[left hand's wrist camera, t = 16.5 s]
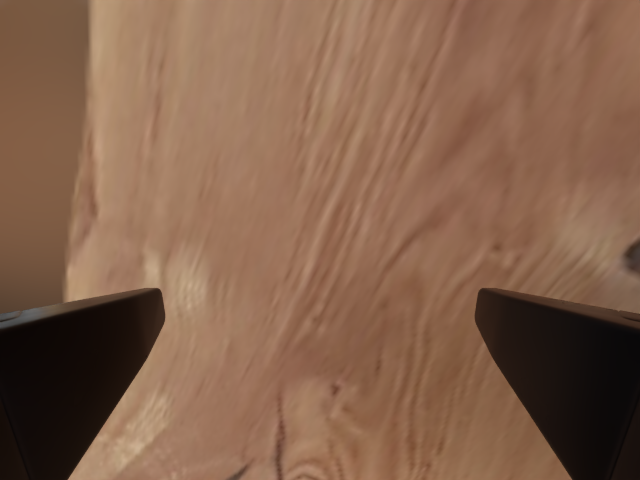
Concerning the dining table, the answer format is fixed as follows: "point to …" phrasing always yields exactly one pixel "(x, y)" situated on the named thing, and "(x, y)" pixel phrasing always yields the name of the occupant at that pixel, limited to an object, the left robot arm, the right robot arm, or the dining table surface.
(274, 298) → the dining table surface
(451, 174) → the dining table surface
